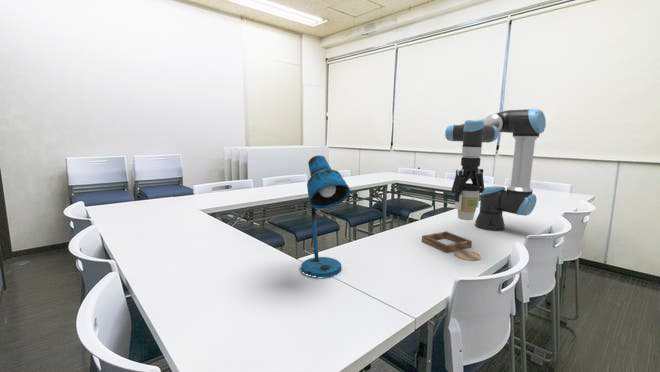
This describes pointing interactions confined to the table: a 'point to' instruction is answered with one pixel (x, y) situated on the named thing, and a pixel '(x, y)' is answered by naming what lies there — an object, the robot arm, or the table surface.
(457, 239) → the pocket frame
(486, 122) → the robot arm
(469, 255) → the cork coaster
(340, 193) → the desk lamp
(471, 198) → the coffee cup
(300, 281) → the table surface
